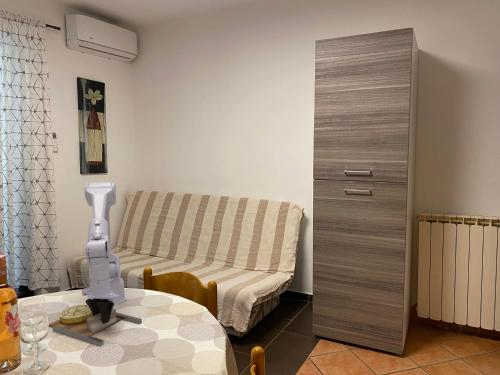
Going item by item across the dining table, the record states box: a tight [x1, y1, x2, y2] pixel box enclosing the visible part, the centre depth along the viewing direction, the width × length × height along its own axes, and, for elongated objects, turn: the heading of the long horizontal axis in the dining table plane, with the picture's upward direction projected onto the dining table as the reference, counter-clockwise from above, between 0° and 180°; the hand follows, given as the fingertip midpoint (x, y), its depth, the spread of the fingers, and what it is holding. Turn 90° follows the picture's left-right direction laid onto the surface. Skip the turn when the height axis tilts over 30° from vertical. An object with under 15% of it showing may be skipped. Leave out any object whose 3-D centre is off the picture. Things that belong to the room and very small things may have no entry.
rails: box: [51, 311, 143, 347], centre depth 114 cm, size 16×21×2 cm
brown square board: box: [48, 307, 122, 337], centre depth 117 cm, size 18×13×5 cm
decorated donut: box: [58, 304, 93, 325], centre depth 120 cm, size 10×11×4 cm
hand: (102, 321), depth 113 cm, fingers open, 3 cm apart
